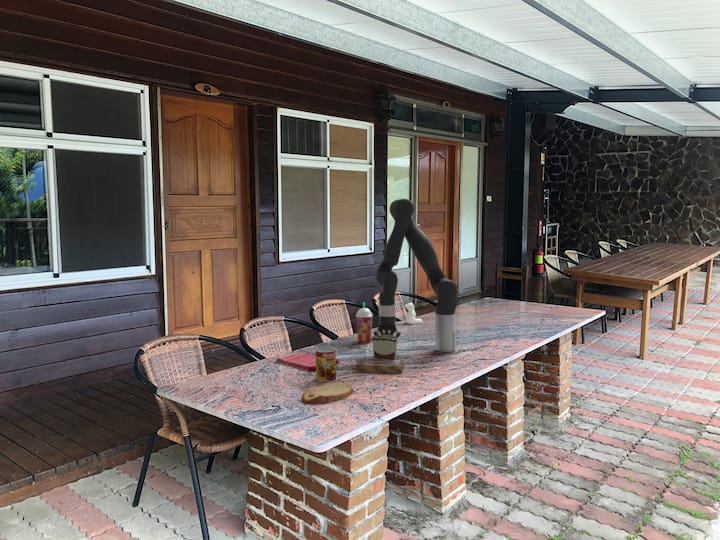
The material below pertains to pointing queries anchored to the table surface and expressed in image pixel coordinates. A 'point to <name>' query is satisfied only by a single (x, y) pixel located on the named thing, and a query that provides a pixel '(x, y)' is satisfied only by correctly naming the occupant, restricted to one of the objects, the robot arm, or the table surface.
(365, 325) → the smoothie
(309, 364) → the dish towel
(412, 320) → the white creature statuette
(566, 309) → the table surface
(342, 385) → the bread slice
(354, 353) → the table surface
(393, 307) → the robot arm
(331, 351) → the canned food
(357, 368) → the walnut dock
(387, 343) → the food container
